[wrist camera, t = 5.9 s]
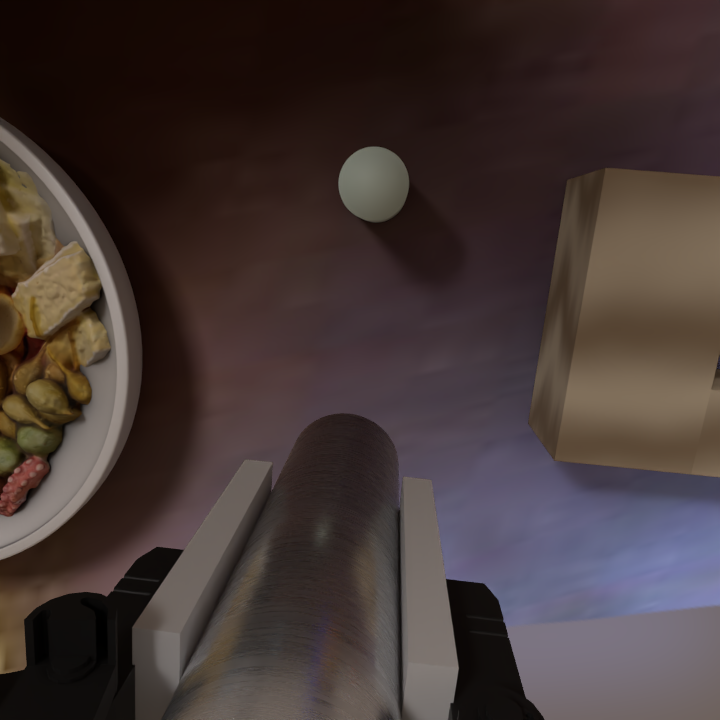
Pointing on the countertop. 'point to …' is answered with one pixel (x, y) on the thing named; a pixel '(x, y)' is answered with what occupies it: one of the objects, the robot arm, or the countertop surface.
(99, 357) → the bowl
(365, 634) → the long steel pin
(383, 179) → the grey-green rounded piece
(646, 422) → the hole block
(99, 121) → the countertop surface
